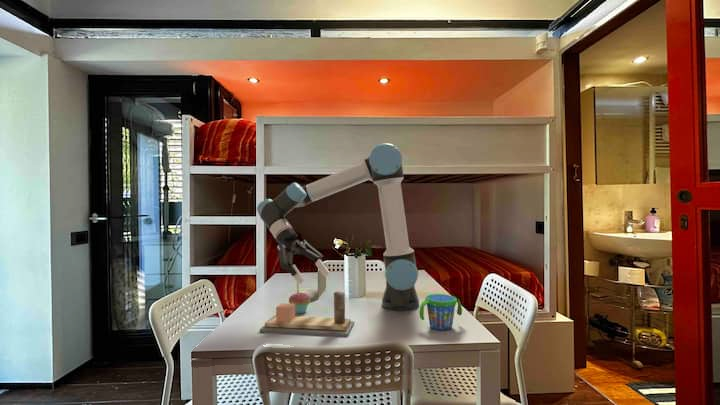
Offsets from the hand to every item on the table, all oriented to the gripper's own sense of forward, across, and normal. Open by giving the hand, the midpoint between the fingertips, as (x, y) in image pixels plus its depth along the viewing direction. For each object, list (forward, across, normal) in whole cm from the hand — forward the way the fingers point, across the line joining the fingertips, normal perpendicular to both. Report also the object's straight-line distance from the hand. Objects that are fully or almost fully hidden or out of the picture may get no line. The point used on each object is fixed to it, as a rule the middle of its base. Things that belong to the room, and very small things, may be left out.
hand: (315, 278), depth 132 cm
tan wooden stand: (+11, +5, -10) cm, 16 cm away
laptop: (-9, -30, -33) cm, 45 cm away
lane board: (+12, +5, -11) cm, 17 cm away
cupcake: (+1, -8, -22) cm, 24 cm away
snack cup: (+39, -21, +16) cm, 47 cm away
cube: (+5, +8, -14) cm, 17 cm away
